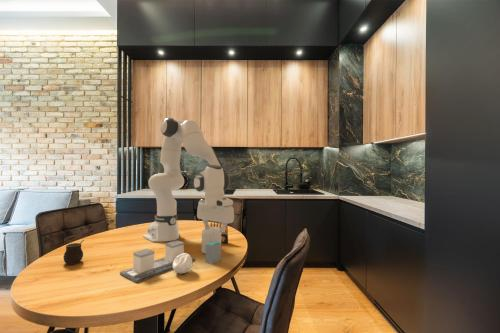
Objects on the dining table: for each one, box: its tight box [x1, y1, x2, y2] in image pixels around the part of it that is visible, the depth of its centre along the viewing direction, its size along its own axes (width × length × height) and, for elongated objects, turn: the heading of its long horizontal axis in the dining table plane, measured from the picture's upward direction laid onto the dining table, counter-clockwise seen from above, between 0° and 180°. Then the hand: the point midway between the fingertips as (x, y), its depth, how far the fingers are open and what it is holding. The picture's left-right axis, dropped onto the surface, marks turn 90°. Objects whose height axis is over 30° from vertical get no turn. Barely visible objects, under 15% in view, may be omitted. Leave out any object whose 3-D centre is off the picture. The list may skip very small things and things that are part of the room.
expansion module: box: [205, 241, 222, 265], centre depth 116 cm, size 4×6×8 cm, turn 144°
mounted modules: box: [132, 240, 185, 273], centre depth 108 cm, size 5×21×7 cm, turn 144°
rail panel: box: [119, 256, 195, 284], centre depth 108 cm, size 12×28×2 cm, turn 144°
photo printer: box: [201, 226, 222, 254], centre depth 129 cm, size 10×4×12 cm, turn 123°
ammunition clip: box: [210, 221, 229, 245], centre depth 144 cm, size 11×2×12 cm, turn 83°
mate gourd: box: [63, 239, 85, 265], centre depth 111 cm, size 7×8×10 cm
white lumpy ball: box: [172, 252, 193, 275], centre depth 103 cm, size 8×8×8 cm
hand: (214, 230), depth 116 cm, fingers open, 8 cm apart
